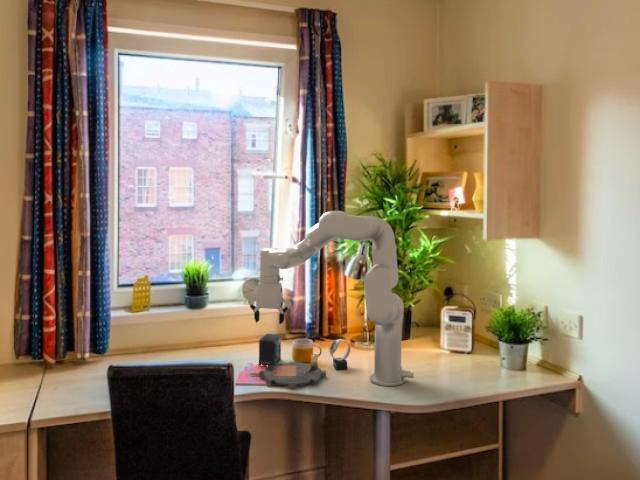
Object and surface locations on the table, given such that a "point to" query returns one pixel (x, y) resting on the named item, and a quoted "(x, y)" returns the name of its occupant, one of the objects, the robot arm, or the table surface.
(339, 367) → the watch
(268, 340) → the small box
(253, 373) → the stand
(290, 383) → the sprocket
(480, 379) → the table surface
